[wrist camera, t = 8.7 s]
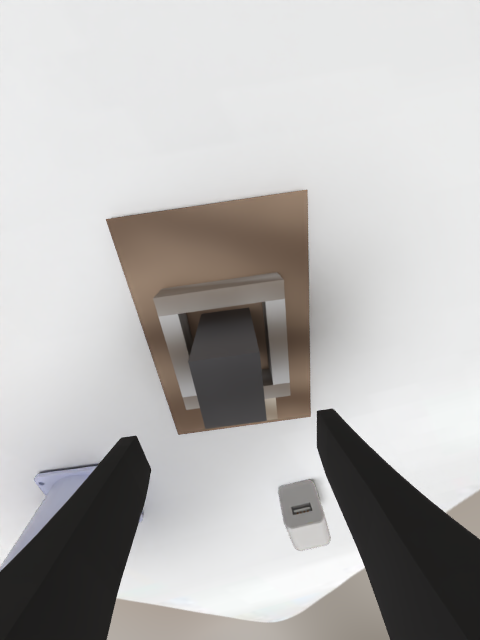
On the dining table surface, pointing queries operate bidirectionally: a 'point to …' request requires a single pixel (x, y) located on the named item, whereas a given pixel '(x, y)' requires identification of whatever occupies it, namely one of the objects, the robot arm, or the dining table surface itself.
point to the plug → (227, 369)
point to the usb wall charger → (304, 515)
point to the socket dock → (223, 292)
